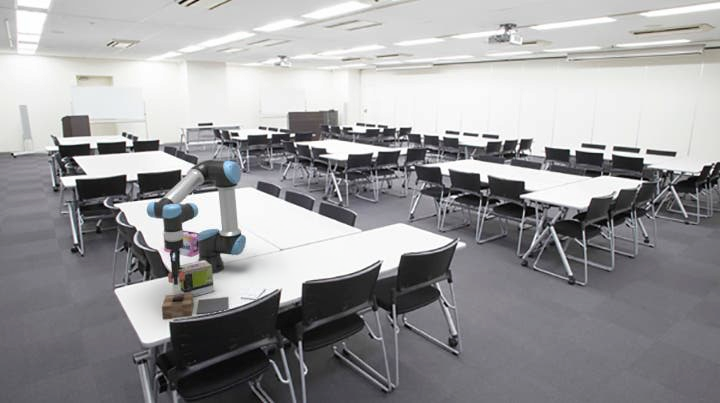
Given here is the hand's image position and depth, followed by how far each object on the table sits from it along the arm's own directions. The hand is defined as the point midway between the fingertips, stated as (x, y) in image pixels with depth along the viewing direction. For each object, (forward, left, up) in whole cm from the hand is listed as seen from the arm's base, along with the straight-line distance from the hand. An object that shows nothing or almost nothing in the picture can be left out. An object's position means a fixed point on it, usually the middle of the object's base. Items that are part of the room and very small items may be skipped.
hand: (177, 286), depth 194 cm
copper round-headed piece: (0, 0, -9) cm, 9 cm away
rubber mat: (-2, +15, -12) cm, 19 cm away
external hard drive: (-11, +34, -13) cm, 38 cm away
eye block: (0, 0, -12) cm, 12 cm away
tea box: (-20, +6, -13) cm, 24 cm away
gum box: (-84, -6, -13) cm, 85 cm away
